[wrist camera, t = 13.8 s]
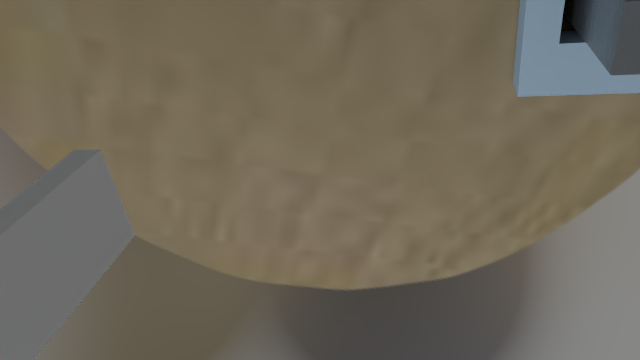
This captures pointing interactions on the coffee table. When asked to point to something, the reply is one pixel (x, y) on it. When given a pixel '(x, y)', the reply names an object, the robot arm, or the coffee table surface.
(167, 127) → the coffee table surface
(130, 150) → the coffee table surface
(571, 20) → the square bit
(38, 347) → the robot arm
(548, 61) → the bore block
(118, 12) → the coffee table surface
